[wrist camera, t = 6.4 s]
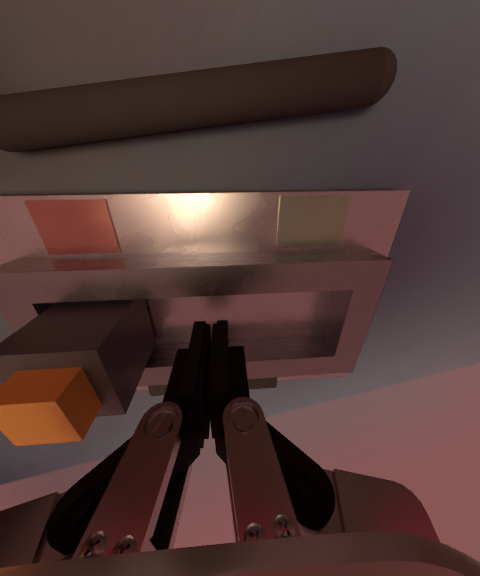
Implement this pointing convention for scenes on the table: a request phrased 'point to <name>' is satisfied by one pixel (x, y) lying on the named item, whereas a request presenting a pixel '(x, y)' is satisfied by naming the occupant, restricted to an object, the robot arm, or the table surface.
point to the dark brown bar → (252, 384)
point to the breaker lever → (72, 369)
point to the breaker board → (218, 235)
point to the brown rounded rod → (195, 99)
